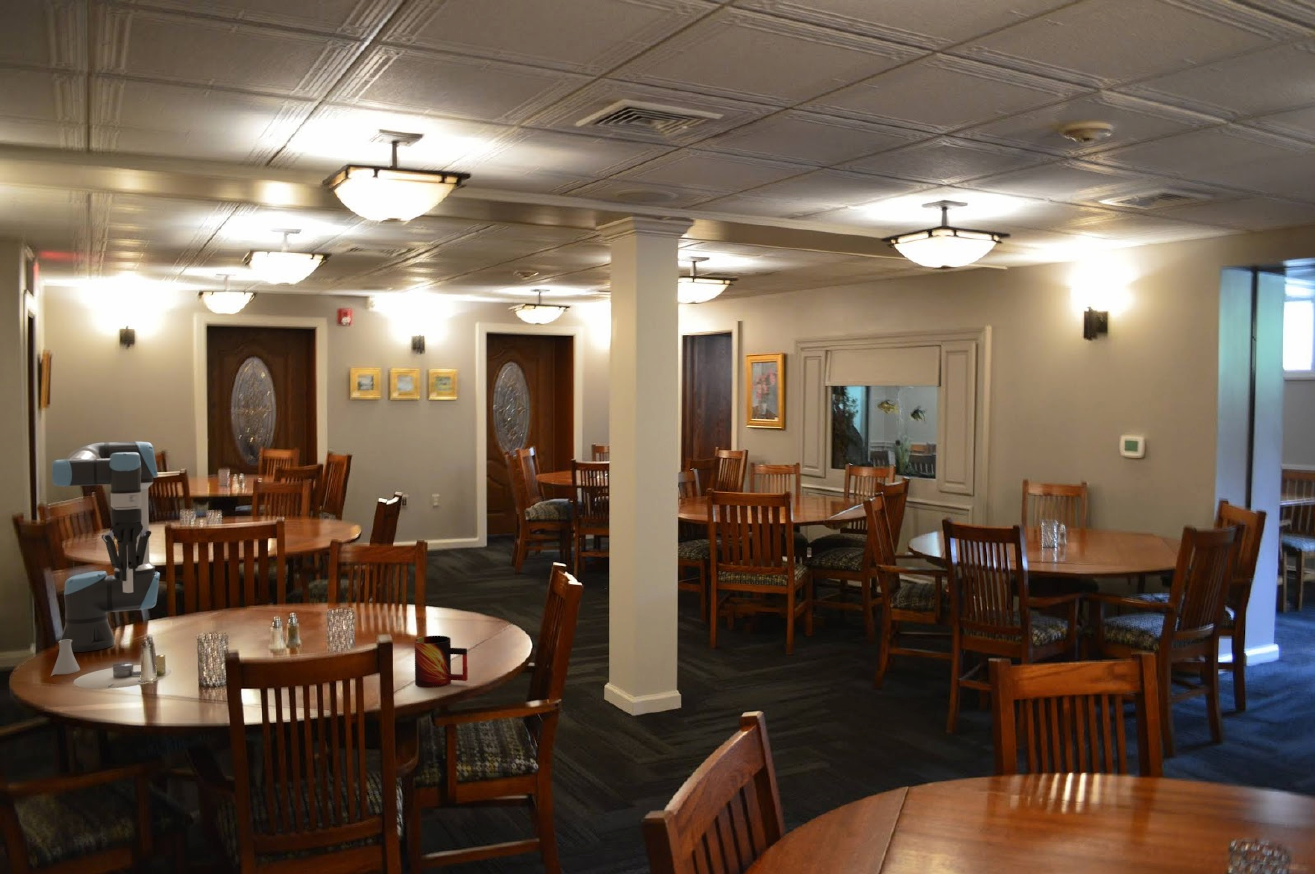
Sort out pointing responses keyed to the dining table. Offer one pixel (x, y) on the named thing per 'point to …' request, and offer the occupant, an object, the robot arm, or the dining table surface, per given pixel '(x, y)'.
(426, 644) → the mug
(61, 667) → the flask
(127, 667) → the crank handle
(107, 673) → the dial board
